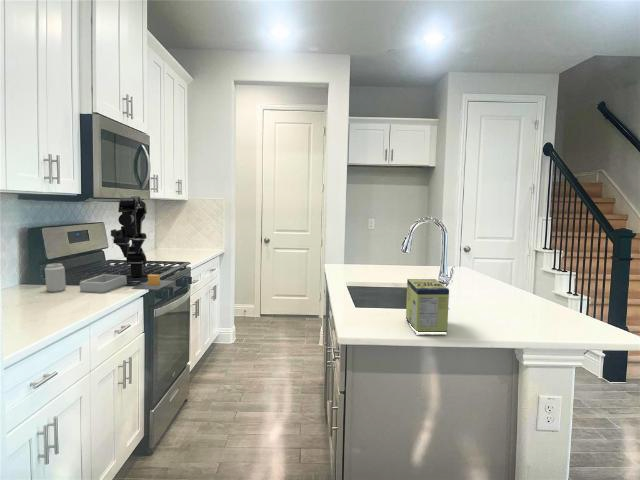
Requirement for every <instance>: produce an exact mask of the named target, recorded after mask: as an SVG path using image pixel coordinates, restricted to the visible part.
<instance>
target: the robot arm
mask: <svg viewBox="0 0 640 480" xmlns="http://www.w3.org/2000/svg"><path fill="white" fill-rule="evenodd" d="M147 208H148V207H147V203H145V202H144V201H143V200H142V198H141V196H138V195H136V196H129V197H121V198H120V199H119V200H118V210H117V212H118V213H121V214H120V215H119V216H118V219H117V220H118V223H119V225H121V226H120V229H118V230H117V229H116V228H115V229H111V230H110V237H112V238H113V239H112V241H113V242H112V243H113V244H115V245H116V246H118V247H119V248H120V250H121V252H122V255H123V258H125V259H126V266H130V267H129V269H130V275H128V276H130V277H129V278H142V277H143V276H146V275H147V273H144V266H145V265H147V263H148V261H147V255H146V254H145V252H144V250H143V248H142V247H143V244H144V242H145V241H146V239H147V234H146V233H145V232H142V228H143V227H142V226H143V221H144V220H145V219H146V214H147V213H148V211H147ZM130 241H131V243H130ZM141 276H142V277H141Z"/></svg>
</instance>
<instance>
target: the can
mask: <svg viewBox="0 0 640 480" xmlns="http://www.w3.org/2000/svg"><path fill="white" fill-rule="evenodd" d="M65 270H66V269H65V266H64V265H63V263H60V262H59V263H49V264H46V266H45V268H44V274H45V275H44V276H45V290H46V291H47V292H48V293H59V292H60V293H61V292H64V291H65V290H66V288H67V284H66V283H67V281H66V272H65Z"/></svg>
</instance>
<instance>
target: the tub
mask: <svg viewBox="0 0 640 480" xmlns="http://www.w3.org/2000/svg"><path fill="white" fill-rule="evenodd" d="M127 284H128V283H127V275H123V274H121V275H120V274H103V273H102V274H100V275H97V276H94V277H91V278H87V279H85V280H82V281H79V292H80V293H93V294H94V293H95V294H107V293H109V292H111V291H114V290H117V289H119V288H123V287H124V286H127Z"/></svg>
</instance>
